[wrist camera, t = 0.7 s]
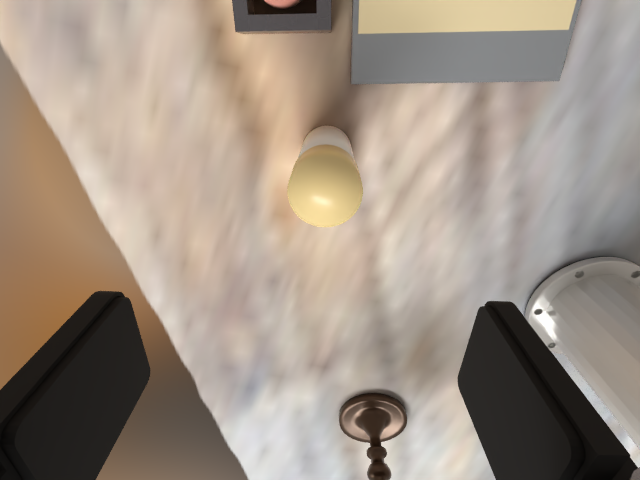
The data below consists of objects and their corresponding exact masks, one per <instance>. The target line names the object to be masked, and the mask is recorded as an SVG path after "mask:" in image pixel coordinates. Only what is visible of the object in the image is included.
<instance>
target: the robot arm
mask: <svg viewBox="0 0 640 480" xmlns="http://www.w3.org/2000/svg"><path fill="white" fill-rule="evenodd" d="M551 352H554V353H558V354H564V355H565V356H566V357H567V358H568V360H569V361H570V362H571V364H572V365H573V366H574V367H575V369H576V370H577V371H578V372H579V374H580V375H581V376H582V377H583V379H584V380H585V381H586V382H587V384H588V385H589V386H590V387H591V389H592V390H593V391H594V392H595V394H596V395H597V396H598V398H599V399H600V400H601V401H602V403H603V404H604V405H605V406H606V408H607V409H608V410H609V411H610V413H611V414H612V415H613V416H614V418H615V419H616V420H617V421H618V423H619V424H620V425H621V427H622V428H623V429H624V430H625V432H626V433H627V434H628V435H629V437H630V438H631V439H632V440H633V442H634V443H635V444H636V445H637V447H638V448H639V449H640V266H638V265H636V264H635V263H633V262H631V261H628V260H626V259H622V258H616V257H597V258H590V259H586V260H582V261H579V262H576V263H573V264H571V265H569V266H567V267H564V268H562V269H561V270H559V271H557V272H556V273H554V274H553V275H551V276H550V277H549V278H548V279H546V280H545V281H544V282H543V283H542V284H541V285H540V286H539V287H538V288H537V289H536V290H535V292H534V293H533V295H532V297H531V298H530V300H529V302H528V305H527V307H526V312H525V317H524V316H523V315H522V313H521V312H520V311H519V309H518V308H517V307H516V306H515V305H514V304H513V303H512V302H502V301H489V302H487V303H486V304H485V306H482V307H480V308H479V310H478V313H477V316H476V319H475V322H474V326H473V329H472V332H471V335H470V339H469V342H468V345H467V349H466V352H465V355H464V358H463V362H462V365H461V368H460V371H459V375H458V386H459V390H460V392H461V395H462V397H463V400H464V402H465V405H466V407H467V410H468V412H469V414H470V417H471V419H472V422H473V424H474V427H475V429H476V432H477V434H478V437H479V439H480V442H481V444H482V446H483V449H484V451H485V454H486V456H487V459H488V461H489V464H490V466H491V469H492V471H493V474H494V476H495V478H496V480H640V467H639V468H638V467H637V466H636V465H635V463H634V462H633V461H632V459H631V458H630V454H629V453H628V452H627V450H626V449H625V448H624V446H623V445H622V444H621V443H620V441H619V440H618V439H617V437H616V436H615V435H614V433H613V432H612V431H611V429H610V428H609V427H608V426H607V424H606V423H605V422H604V420H603V419H602V418H601V416H600V415H599V414H598V413H597V411H596V410H595V409H594V407H593V406H592V405H591V403H590V402H589V401H588V399H587V398H586V397H585V396H584V394H583V393H582V392H581V390H580V389H579V388H578V386H577V385H576V384H575V383H574V381H573V380H572V379H571V377H570V376H569V375H568V373H567V372H566V371H565V369H564V368H563V367H562V366H561V364H560V363H559V362H558V360H557V359H556V358H555V356H554V355H553V354H552V353H551ZM149 377H150V367H149V363H148V360H147V356H146V352H145V349H144V346H143V342H142V339H141V335H140V332H139V328H138V325H137V321H136V318H135V315H134V311H133V308H132V304H131V301H130V299H129V298H127V297H125V296H124V295H123V293H122V292H112V291H98V292H95V293H94V294H92V295H91V297H89V299H87V301H86V302H85V303H84V304H83V305H82V306H81V307H80V308H79V309H78V310H77V311H76V312H75V313H74V314H73V315H72V316H71V317H70V318H69V319H68V320H67V321H66V322H65V323H64V324H63V325H62V326H61V328H60V329H59V330H58V331H57V332H56V333H55V334H54V335H53V336H52V337H51V338H50V339H49V340H48V341H47V342H46V343H45V344H44V345H43V346H42V347H41V348H40V350H38V352H36V353H35V355H34V356H33V357H32V358H31V359H30V360H29V361H28V362H27V363H26V364H25V365H24V366H23V367H22V368H21V369H20V370H19V371H18V372H17V373H16V374H15V375H14V376H13V377H12V378H11V379H10V381H8V383H7V384H6V385H5V386H4V387H3V388H2V389H1V390H0V480H96V478H97V476H98V474H99V472H100V470H101V469H102V466H103V465H104V463H105V461H106V459H107V457H108V456H109V454H110V452H111V450H112V448H113V446H114V444H115V442H116V440H117V439H118V437H119V435H120V433H121V431H122V429H123V428H124V426H125V424H126V421H127V420H128V418H129V416H130V414H131V413H132V411H133V409H134V407H135V405H136V403H137V401H138V400H139V398H140V396H141V394H142V392H143V390H144V388H145V386H146V384H147V383H148V380H149Z"/></svg>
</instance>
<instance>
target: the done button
mask: <svg viewBox="0 0 640 480" xmlns="http://www.w3.org/2000/svg"><path fill="white" fill-rule="evenodd" d="M264 1H265V2H266V3H268V4H269V5H270V6H272V7H275V8H278V9H288V8H291V7H294V6H295V5H297V4H298V3H300V2H301V0H264Z"/></svg>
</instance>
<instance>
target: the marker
mask: <svg viewBox="0 0 640 480" xmlns="http://www.w3.org/2000/svg"><path fill="white" fill-rule="evenodd" d="M287 194H288V200H289V203H290V205H291V207H292V209H293V211H294V212H295V213H296V215H297V216H298V217H299V218H301V219H302V220H303V221H305V222H307V223H309V224H311V225H314V226H318V227H332V226H337V225H340V224H342V223H344V222H346V221H347V220H348V219H350V218H351V217H352V216H353V215H354V214H355V213H356V211H357V210H358V208H359V206H360V204H361V201H362V195H363V187H362V182H361V178H360V174H359V170H358V167H357V164H356V162H355V160H354V156H353V152H352V148H351V144H350V141H349V139H348V137H347V135H346V134H345V133H344V132H343V131H342V130H340V129H338V128H337V127H334V126H327V125H326V126H320V127H317V128H315V129H313V130H312V131H311V132H310V133H309V134H308V135H307V136H306V138H305V140H304V142H303V145H302V148H301V151H300V154H299V157H298V159H297V161H296V163H295V165H294V168H293V171H292V174H291V177H290V180H289V183H288V191H287Z"/></svg>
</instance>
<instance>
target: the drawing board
mask: <svg viewBox="0 0 640 480" xmlns="http://www.w3.org/2000/svg"><path fill="white" fill-rule="evenodd" d="M580 4H581V0H353V6H352V49H351V84H396V83H462V82H528V81H559V80H560V76H561V73H562V69H563V65H564V62H565V58H566V55H567V51H568V47H569V44H570V40H571V36H572V33H573V29H574V26H575V22H576V18H577V15H578V11H579V7H580Z"/></svg>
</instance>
